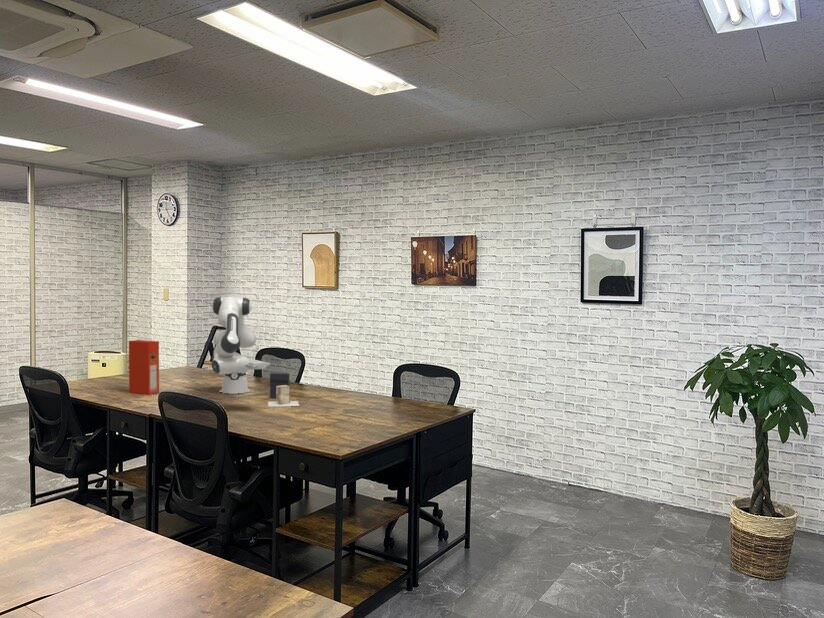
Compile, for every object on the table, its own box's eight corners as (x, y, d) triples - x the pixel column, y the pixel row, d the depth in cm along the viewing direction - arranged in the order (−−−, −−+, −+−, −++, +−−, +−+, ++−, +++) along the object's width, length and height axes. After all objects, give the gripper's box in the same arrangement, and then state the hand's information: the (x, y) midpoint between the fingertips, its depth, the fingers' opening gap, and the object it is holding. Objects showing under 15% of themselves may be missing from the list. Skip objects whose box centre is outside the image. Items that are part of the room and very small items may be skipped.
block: (276, 403, 363) (276, 386, 363) (285, 402, 367) (285, 385, 367) (280, 404, 360) (280, 387, 359) (290, 403, 364) (290, 386, 363)
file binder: (148, 395, 384) (148, 342, 382) (128, 392, 392) (128, 340, 390) (159, 393, 391) (159, 341, 389) (139, 390, 399) (139, 339, 397)
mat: (267, 402, 368) (267, 401, 368) (297, 401, 372) (297, 400, 372) (268, 407, 355) (268, 406, 355) (299, 406, 359) (299, 405, 359)
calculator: (289, 397, 384) (289, 373, 384) (287, 399, 380) (287, 374, 379) (271, 397, 385) (272, 372, 385) (269, 398, 381) (269, 373, 380)
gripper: (252, 360, 337) (274, 359, 347) (233, 356, 352) (255, 355, 362) (251, 372, 338) (274, 370, 347) (233, 368, 352) (255, 366, 362)
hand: (264, 362), depth 354 cm, fingers open, 8 cm apart
